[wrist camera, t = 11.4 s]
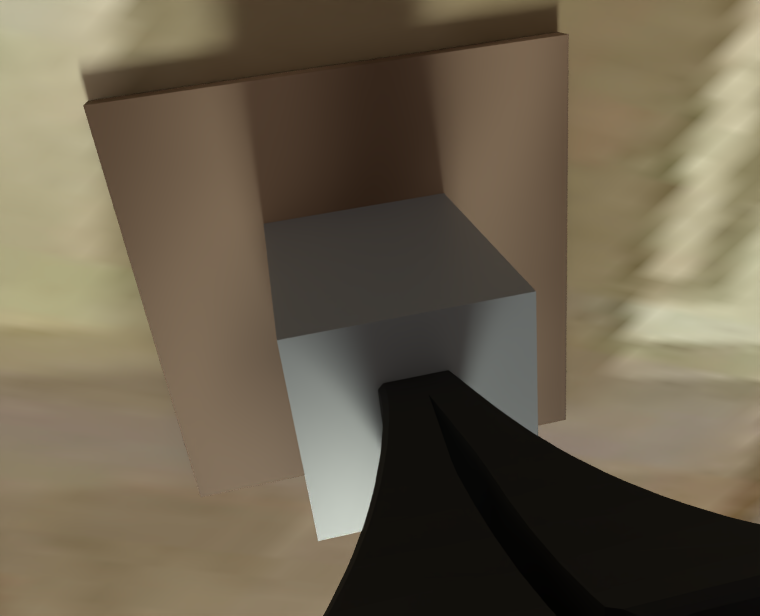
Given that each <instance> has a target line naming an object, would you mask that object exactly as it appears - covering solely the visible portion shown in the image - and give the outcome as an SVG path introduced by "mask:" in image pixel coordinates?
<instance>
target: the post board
mask: <svg viewBox="0 0 760 616" xmlns="http://www.w3.org/2000/svg"><path fill="white" fill-rule="evenodd" d="M568 39H569V34H564V33H559V32H557V33H550V34H543V35H536V36H529V37H522V38H516V39H509V40H502V41H495V42H488V43H481V44H474V45H468V46H461V47H454V48H447V49H440V50H433V51H426V52H420V53H413V54H406V55H399V56H392V57H385V58H379V59H372V60H365V61H358V62H351V63H344V64H337V65H331V66H324V67H317V68H310V69H303V70H296V71H290V72H283V73H276V74H269V75H262V76H255V77H248V78H242V79H235V80H228V81H221V82H214V83H207V84H201V85H194V86H187V87H180V88H173V89H166V90H159V91H153V92H146V93H139V94H132V95H125V96H118V97H112V98H105V99H98V100H91V101H88V102H87V103H86V104H84V105H83V106H84V109H85V113H86V116H87V119H88V123H89V126H90V129H91V133H92V136H93V139H94V143H95V146H96V149H97V153H98V156H99V159H100V163H101V166H102V169H103V173H104V176H105V179H106V183H107V186H108V189H109V193H110V196H111V199H112V203H113V206H114V209H115V213H116V216H117V219H118V223H119V226H120V230H121V233H122V236H123V240H124V243H125V246H126V250H127V253H128V256H129V260H130V263H131V266H132V270H133V273H134V276H135V280H136V283H137V286H138V290H139V293H140V296H141V300H142V303H143V306H144V310H145V313H146V316H147V320H148V323H149V326H150V330H151V333H152V336H153V340H154V343H155V346H156V350H157V353H158V356H159V360H160V363H161V366H162V370H163V373H164V376H165V380H166V383H167V386H168V390H169V393H170V396H171V400H172V403H173V406H174V410H175V413H176V416H177V420H178V423H179V427H180V430H181V433H182V437H183V440H184V443H185V447H186V450H187V453H188V457H189V460H190V463H191V467H192V470H193V473H194V477H195V480H196V483H197V487H198V490H199V493H200V497H205V496H209V495H214V494H219V493H223V492H228V491H233V490H238V489H242V488H247V487H252V486H256V485H261V484H266V483H270V482H275V481H280V480H284V479H289V478H294V477H299V476H303V475H305V474H304V469H303V464H302V460H301V455H300V450H299V445H298V440H297V435H296V431H295V426H294V421H293V416H292V411H291V406H290V402H289V397H288V392H287V387H286V382H285V377H284V372H283V368H282V363H281V358H280V353H279V348H278V343H277V337H276V329H275V320H274V311H273V303H272V294H271V285H270V276H269V268H268V259H267V250H266V242H265V233H264V224H265V223H271V222H277V221H282V220H288V219H294V218H300V217H306V216H312V215H318V214H324V213H330V212H336V211H341V210H347V209H353V208H359V207H365V206H371V205H377V204H383V203H389V202H395V201H401V200H406V199H412V198H418V197H424V196H430V195H436V194H442V193H444V194H445V195H446V196H447V197H448V198H449V199H450V200H451V201H452V202H453V203H454V204H455V205H456V207H457V208H458V209H459V210H460V211H461V212H462V213H463V214H464V215H465V216H466V217H467V218H468V219H469V220H470V221H471V223H472V224H473V225H474V226H475V227H476V228H477V229H478V230H479V231H480V232H481V233H482V234H483V235H484V236H485V237H486V238H487V240H488V241H489V242H490V243H491V244H492V245H493V246H494V247H495V248H496V249H497V250H498V251H499V252H500V253H501V254H502V256H503V257H504V258H505V259H506V260H507V261H508V262H509V263H510V264H511V265H512V266H513V267H514V268H515V269H516V270H517V272H518V273H519V274H520V275H521V276H522V277H523V278H524V279H525V280H526V281H527V282H528V283H529V284H530V285H531V286H532V287H533V289H534V290H535V291H536V322H537V397H538V425H542V424H547V423H552V422H557V421H561V420H566V311H567V175H568Z"/></svg>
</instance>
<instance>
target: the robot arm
mask: <svg viewBox="0 0 760 616" xmlns="http://www.w3.org/2000/svg"><path fill="white" fill-rule="evenodd" d="M378 395H379V402H380V410H381V417H382V424H383V431H382V442H381V453H380V459H379V465H378V470H377V475H376V481H375V486H374V490H373V494H372V498H371V502H370V506H369V509H368V512H367V516H366V519H365V522H364V525H363V528H362V531H361V534H360V537H359V539H358V542H357V545H356V547H355V550H354V553H353V555H352V558H351V560H350V562H349V565H348V567H347V569H346V572H345V574H344V576H343V578H342V580H341V582H340V584H339V586H338V588H337V590H336V592H335V594H334V596H333V598H332V600H331V602H330V604H329V606H328V608H327V610H326V612H325V613H324V615H323V616H760V524H756V523H752V522H747V521H743V520H739V519H735V518H731V517H727V516H724V515H720V514H717V513H714V512H710V511H707V510H704V509H700V508H697V507H694V506H691V505H687V504H684V503H681V502H679V501H676V500H673V499H670V498H667V497H664V496H661V495H659V494H656V493H653V492H651V491H648V490H646V489H643V488H641V487H638V486H636V485H633V484H631V483H628V482H626V481H623V480H621V479H619V478H617V477H614V476H612V475H610V474H608V473H605V472H603V471H601V470H599V469H597V468H595V467H593V466H591V465H589V464H587V463H585V462H583V461H581V460H579V459H577V458H575V457H573V456H571V455H570V454H568V453H566V452H564V451H562V450H561V449H559V448H557V447H555V446H554V445H552V444H550V443H549V442H547V441H546V440H544V439H542V438H541V437H539V436H537V435H536V434H534V433H533V432H531V431H529V430H528V429H526V428H525V427H524V426H522V425H521V424H519V423H518V422H516V421H515V420H514V419H512V418H511V417H509V416H508V415H506V414H505V413H504V412H502V411H501V410H499V409H498V408H497V407H495V406H494V405H493V404H491V403H490V402H489V401H488V400H486V399H485V398H484V397H482V396H481V395H480V394H478V393H477V392H476V391H475V390H473V389H472V388H471V387H470V386H468V385H467V384H466V383H465V382H463V381H462V380H461V379H460V378H458V377H457V376H456V375H454V374H453V373H452V372H450V371H449V370H447V371H442V372H437V373H432V374H427V375H422V376H417V377H412V378H407V379H402V380H397V381H392V382H387V383H383V384H382V385H381V387H380V388H379V389H378Z"/></svg>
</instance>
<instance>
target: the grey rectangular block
mask: <svg viewBox="0 0 760 616" xmlns="http://www.w3.org/2000/svg"><path fill="white" fill-rule="evenodd" d="M264 233H265V242H266V250H267V259H268V268H269V276H270V285H271V294H272V303H273V311H274V320H275V329H276V337H277V343H278V348H279V353H280V358H281V363H282V368H283V372H284V377H285V382H286V387H287V392H288V397H289V402H290V406H291V411H292V416H293V421H294V426H295V431H296V435H297V440H298V445H299V450H300V455H301V460H302V464H303V469H304V474H305V479H306V484H307V489H308V494H309V498H310V503H311V508H312V513H313V518H314V523H315V527H316V532H317V537H318V541H320V540H325V539H329V538H334V537H338V536H343V535H347V534H352V533H356V532H360V531H362V528H363V525H364V522H365V519H366V516H367V512H368V509H369V506H370V502H371V498H372V494H373V490H374V486H375V481H376V475H377V470H378V465H379V459H380V453H381V442H382V431H383V424H382V417H381V410H380V402H379V395H378V389H379V388H380V387H381V385H382V384H383V383H387V382H392V381H397V380H402V379H407V378H412V377H417V376H422V375H427V374H432V373H437V372H442V371H447V370H449V371H450V372H452V373H453V374H454V375H456V376H457V377H458V378H460V379H461V380H462V381H463V382H465V383H466V384H467V385H468V386H470V387H471V388H472V389H473V390H475V391H476V392H477V393H478V394H480V395H481V396H482V397H484V398H485V399H486V400H488V401H489V402H490V403H491V404H493V405H494V406H495V407H497V408H498V409H499V410H501V411H502V412H504V413H505V414H506V415H508V416H509V417H511V418H512V419H514V420H515V421H516V422H518V423H519V424H521V425H522V426H524V427H525V428H526V429H528V430H529V431H531V432H533V433H534V434H536V435H537V436H538V397H537V322H536V291H535V290H534V289H533V287H532V286H531V285H530V284H529V283H528V282H527V281H526V280H525V279H524V278H523V277H522V276H521V275H520V274H519V273H518V272H517V270H516V269H515V268H514V267H513V266H512V265H511V264H510V263H509V262H508V261H507V260H506V259H505V258H504V257H503V256H502V254H501V253H500V252H499V251H498V250H497V249H496V248H495V247H494V246H493V245H492V244H491V243H490V242H489V241H488V240H487V238H486V237H485V236H484V235H483V234H482V233H481V232H480V231H479V230H478V229H477V228H476V227H475V226H474V225H473V224H472V223H471V221H470V220H469V219H468V218H467V217H466V216H465V215H464V214H463V213H462V212H461V211H460V210H459V209H458V208H457V207H456V205H455V204H454V203H453V202H452V201H451V200H450V199H449V198H448V197H447V196H446V195H445V194H444V193H442V194H436V195H430V196H424V197H418V198H412V199H406V200H401V201H395V202H389V203H383V204H377V205H371V206H365V207H359V208H353V209H347V210H341V211H336V212H330V213H324V214H318V215H312V216H306V217H300V218H294V219H288V220H282V221H277V222H271V223H265V224H264Z"/></svg>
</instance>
